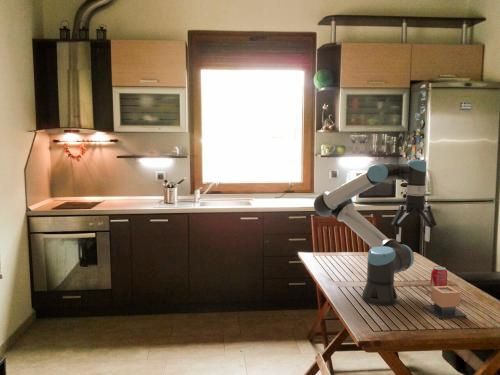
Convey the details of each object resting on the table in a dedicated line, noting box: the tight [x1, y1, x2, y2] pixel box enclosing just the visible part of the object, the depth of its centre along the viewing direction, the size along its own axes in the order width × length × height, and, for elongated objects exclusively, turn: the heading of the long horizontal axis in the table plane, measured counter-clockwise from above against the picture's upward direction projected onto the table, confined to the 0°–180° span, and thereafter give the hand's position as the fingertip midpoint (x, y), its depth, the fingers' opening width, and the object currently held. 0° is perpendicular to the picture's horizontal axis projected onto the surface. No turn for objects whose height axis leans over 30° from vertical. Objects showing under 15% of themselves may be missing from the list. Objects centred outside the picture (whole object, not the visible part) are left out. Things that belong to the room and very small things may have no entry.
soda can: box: [429, 265, 448, 291], centre depth 207 cm, size 7×7×12 cm
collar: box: [430, 285, 461, 308], centre depth 183 cm, size 8×8×6 cm
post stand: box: [423, 289, 467, 320], centre depth 183 cm, size 12×12×10 cm
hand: (412, 241), depth 198 cm, fingers open, 13 cm apart
